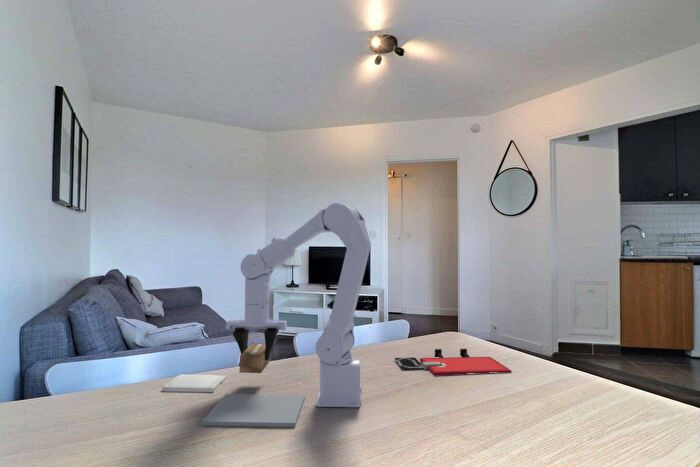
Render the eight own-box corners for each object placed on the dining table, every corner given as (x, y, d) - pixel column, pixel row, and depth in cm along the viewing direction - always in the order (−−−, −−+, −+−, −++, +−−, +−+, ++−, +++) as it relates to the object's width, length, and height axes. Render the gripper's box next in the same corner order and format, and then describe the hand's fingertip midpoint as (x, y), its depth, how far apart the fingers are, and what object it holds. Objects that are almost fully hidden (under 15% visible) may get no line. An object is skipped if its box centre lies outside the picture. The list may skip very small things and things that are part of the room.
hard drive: (162, 386, 80) (214, 387, 80) (180, 373, 89) (227, 374, 88) (162, 393, 80) (214, 394, 80) (180, 380, 89) (227, 380, 88)
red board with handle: (392, 358, 105) (406, 378, 90) (392, 349, 105) (406, 367, 90) (483, 357, 109) (511, 375, 94) (483, 348, 109) (511, 365, 94)
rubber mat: (304, 399, 77) (304, 395, 77) (295, 427, 65) (295, 422, 65) (225, 397, 77) (225, 394, 77) (201, 425, 65) (201, 421, 65)
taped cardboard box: (270, 360, 88) (271, 343, 88) (260, 373, 79) (261, 354, 79) (251, 359, 88) (251, 343, 88) (239, 372, 79) (240, 354, 79)
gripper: (289, 300, 88) (288, 354, 87) (233, 300, 88) (232, 353, 87) (283, 305, 81) (282, 363, 80) (223, 305, 81) (221, 362, 80)
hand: (256, 359), depth 83 cm, fingers closed on taped cardboard box, 5 cm apart
